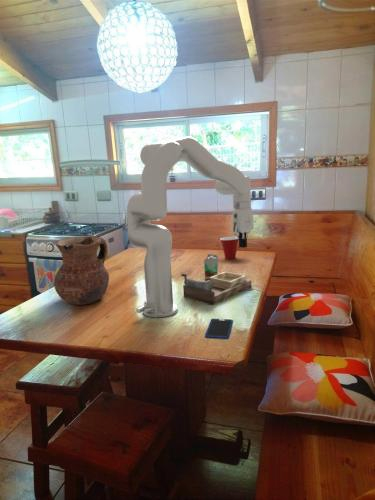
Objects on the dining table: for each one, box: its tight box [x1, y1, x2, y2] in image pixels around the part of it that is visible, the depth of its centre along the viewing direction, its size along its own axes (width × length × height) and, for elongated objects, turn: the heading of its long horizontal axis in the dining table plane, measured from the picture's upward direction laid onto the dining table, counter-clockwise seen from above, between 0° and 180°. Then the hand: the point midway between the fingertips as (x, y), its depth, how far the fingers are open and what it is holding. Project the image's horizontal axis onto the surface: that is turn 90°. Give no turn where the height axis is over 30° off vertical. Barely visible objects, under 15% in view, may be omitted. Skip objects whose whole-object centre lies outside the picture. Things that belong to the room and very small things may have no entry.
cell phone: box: [204, 318, 234, 340], centre depth 114 cm, size 7×14×1 cm, turn 167°
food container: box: [203, 253, 220, 281], centre depth 168 cm, size 12×6×10 cm, turn 168°
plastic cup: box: [219, 236, 239, 260], centre depth 203 cm, size 11×11×12 cm
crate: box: [209, 271, 247, 289], centre depth 152 cm, size 11×11×4 cm
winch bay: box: [181, 273, 252, 306], centre depth 147 cm, size 27×16×10 cm, turn 137°
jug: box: [53, 235, 110, 306], centre depth 144 cm, size 22×21×25 cm
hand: (242, 247), depth 157 cm, fingers closed
